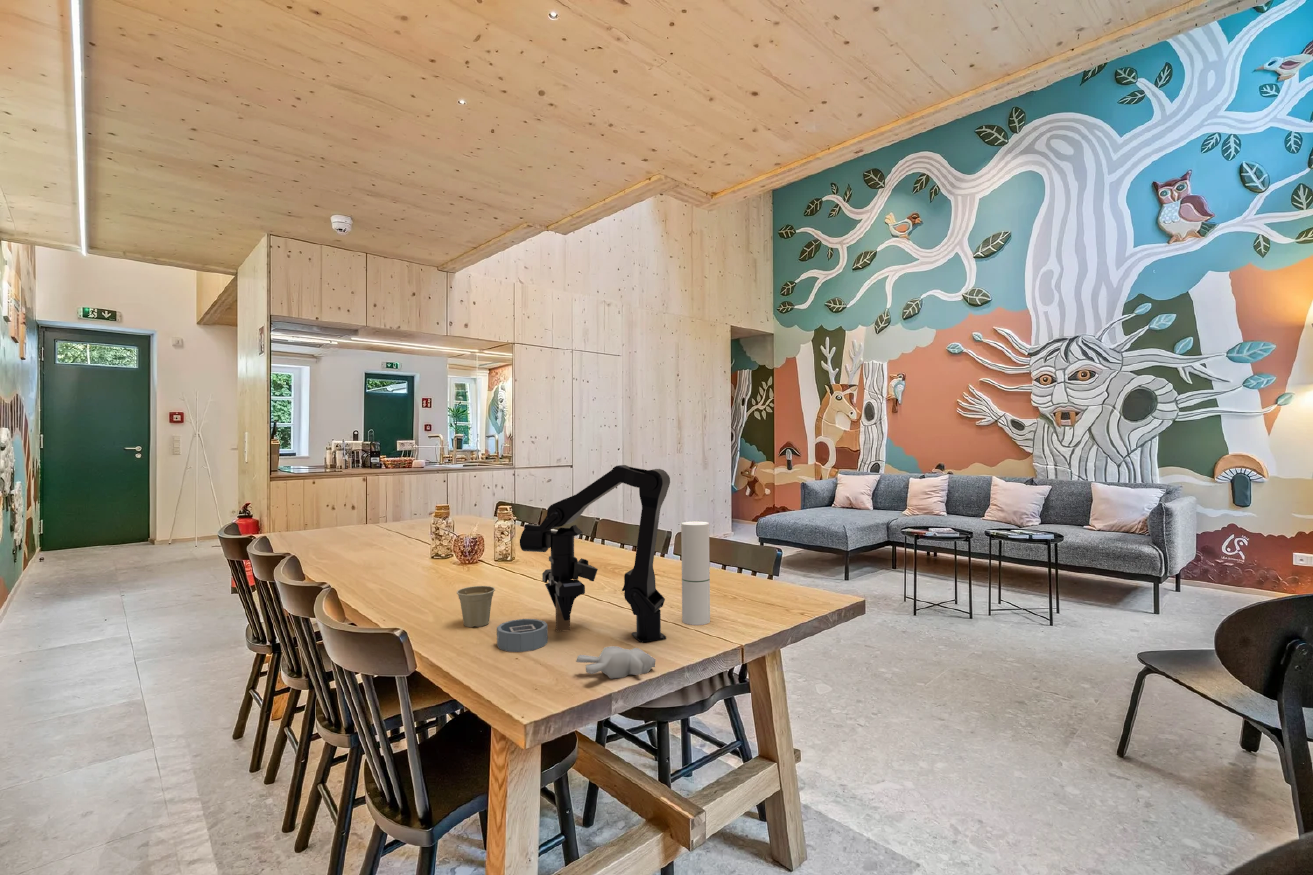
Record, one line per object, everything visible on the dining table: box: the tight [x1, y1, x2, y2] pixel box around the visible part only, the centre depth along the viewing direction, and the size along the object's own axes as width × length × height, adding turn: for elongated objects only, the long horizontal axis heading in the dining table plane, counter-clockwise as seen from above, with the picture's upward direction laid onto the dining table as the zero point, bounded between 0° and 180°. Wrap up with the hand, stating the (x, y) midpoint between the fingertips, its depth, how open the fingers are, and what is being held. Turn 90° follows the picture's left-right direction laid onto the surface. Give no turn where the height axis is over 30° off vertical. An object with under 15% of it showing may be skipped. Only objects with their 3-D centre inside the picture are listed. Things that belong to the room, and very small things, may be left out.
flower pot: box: [456, 585, 496, 628], centre depth 155 cm, size 9×9×9 cm
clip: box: [509, 624, 536, 633], centre depth 140 cm, size 4×5×2 cm
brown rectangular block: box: [555, 599, 571, 633], centre depth 149 cm, size 2×3×9 cm, turn 113°
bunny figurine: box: [575, 645, 657, 680], centre depth 121 cm, size 10×5×15 cm
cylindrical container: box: [680, 520, 711, 626], centre depth 156 cm, size 7×7×25 cm
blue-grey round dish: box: [496, 618, 549, 653], centre depth 140 cm, size 11×11×4 cm
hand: (562, 616), depth 149 cm, fingers open, 6 cm apart
